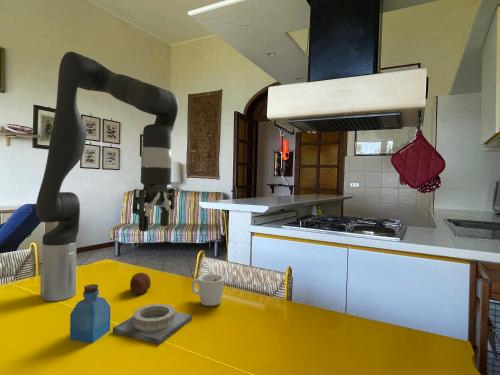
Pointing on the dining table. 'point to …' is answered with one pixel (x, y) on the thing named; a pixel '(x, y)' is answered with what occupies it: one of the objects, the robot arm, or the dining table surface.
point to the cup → (209, 289)
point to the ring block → (153, 323)
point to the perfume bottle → (90, 316)
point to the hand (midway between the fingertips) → (154, 228)
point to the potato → (140, 283)
